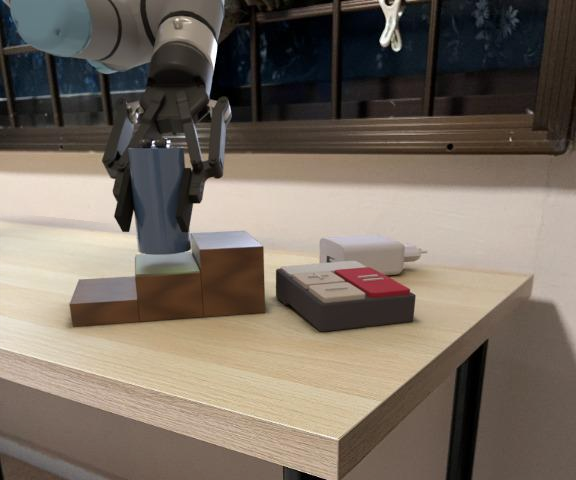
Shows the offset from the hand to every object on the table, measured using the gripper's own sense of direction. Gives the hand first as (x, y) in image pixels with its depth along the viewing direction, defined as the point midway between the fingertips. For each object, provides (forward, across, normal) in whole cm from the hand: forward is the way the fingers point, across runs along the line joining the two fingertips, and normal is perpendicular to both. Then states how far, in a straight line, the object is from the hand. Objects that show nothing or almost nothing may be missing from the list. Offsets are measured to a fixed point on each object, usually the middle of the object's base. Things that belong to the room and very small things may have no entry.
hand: (151, 224), depth 66 cm
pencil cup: (0, 0, +5) cm, 5 cm away
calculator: (+5, +20, +10) cm, 23 cm away
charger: (-11, +25, +25) cm, 37 cm away
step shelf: (+4, 0, +10) cm, 11 cm away
